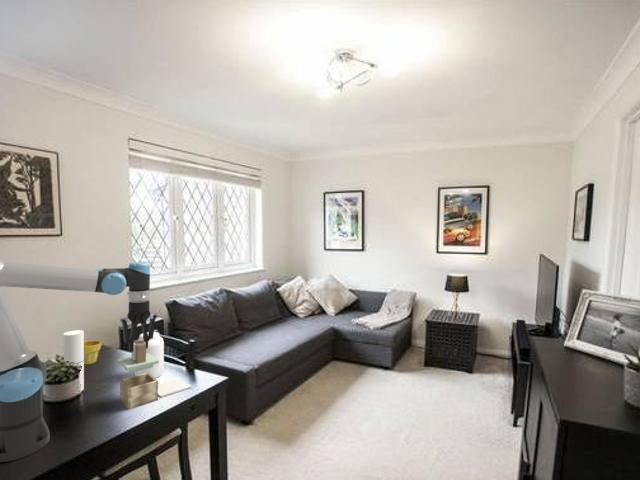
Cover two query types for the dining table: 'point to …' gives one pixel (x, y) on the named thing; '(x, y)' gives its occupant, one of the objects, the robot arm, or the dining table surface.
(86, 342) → the plant pot
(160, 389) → the felt mat
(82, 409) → the dining table surface
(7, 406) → the robot arm
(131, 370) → the lid
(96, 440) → the dining table surface
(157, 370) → the white jar
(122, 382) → the storage box
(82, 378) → the cylindrical container
